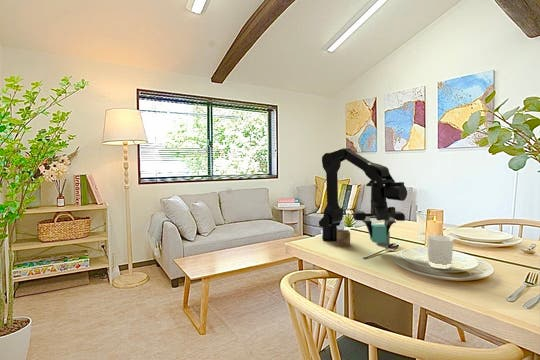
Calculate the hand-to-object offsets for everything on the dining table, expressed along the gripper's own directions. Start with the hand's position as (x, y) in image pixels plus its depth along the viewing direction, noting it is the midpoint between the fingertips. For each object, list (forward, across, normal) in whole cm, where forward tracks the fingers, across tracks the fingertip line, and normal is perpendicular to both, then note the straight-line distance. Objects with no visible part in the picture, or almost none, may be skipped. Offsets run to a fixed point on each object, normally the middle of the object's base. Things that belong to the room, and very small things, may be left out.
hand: (378, 237), depth 123 cm
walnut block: (+6, -12, +10) cm, 17 cm away
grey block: (+6, +5, +13) cm, 15 cm away
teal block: (+1, 0, 0) cm, 1 cm away
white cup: (+6, +17, -15) cm, 23 cm away
